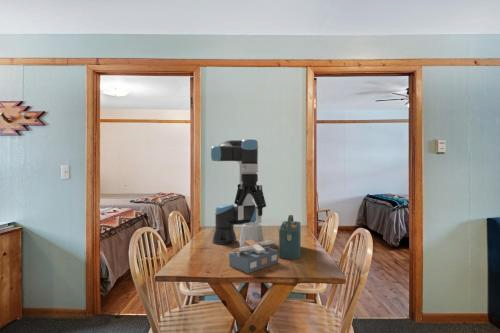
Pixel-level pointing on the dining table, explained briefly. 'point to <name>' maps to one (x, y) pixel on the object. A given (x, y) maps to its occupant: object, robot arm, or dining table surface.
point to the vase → (251, 233)
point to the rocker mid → (256, 246)
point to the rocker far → (265, 243)
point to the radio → (290, 239)
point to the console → (253, 259)
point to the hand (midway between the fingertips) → (249, 221)
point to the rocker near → (243, 249)
